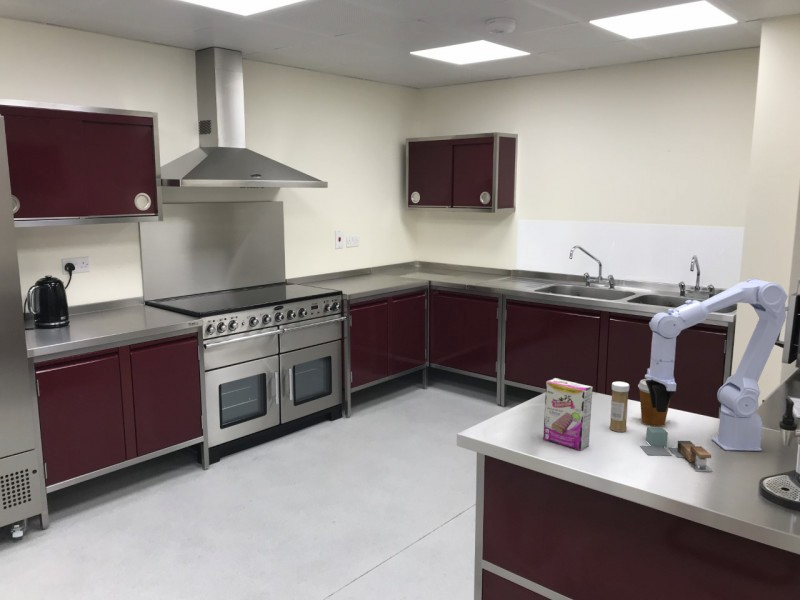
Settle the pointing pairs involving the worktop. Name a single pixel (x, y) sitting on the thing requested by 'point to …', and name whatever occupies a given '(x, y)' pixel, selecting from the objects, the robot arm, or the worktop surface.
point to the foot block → (656, 436)
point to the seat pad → (655, 450)
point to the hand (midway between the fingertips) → (658, 409)
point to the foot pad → (676, 452)
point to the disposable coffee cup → (650, 408)
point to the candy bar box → (567, 413)
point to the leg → (692, 451)
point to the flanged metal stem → (700, 465)
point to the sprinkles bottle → (619, 406)
